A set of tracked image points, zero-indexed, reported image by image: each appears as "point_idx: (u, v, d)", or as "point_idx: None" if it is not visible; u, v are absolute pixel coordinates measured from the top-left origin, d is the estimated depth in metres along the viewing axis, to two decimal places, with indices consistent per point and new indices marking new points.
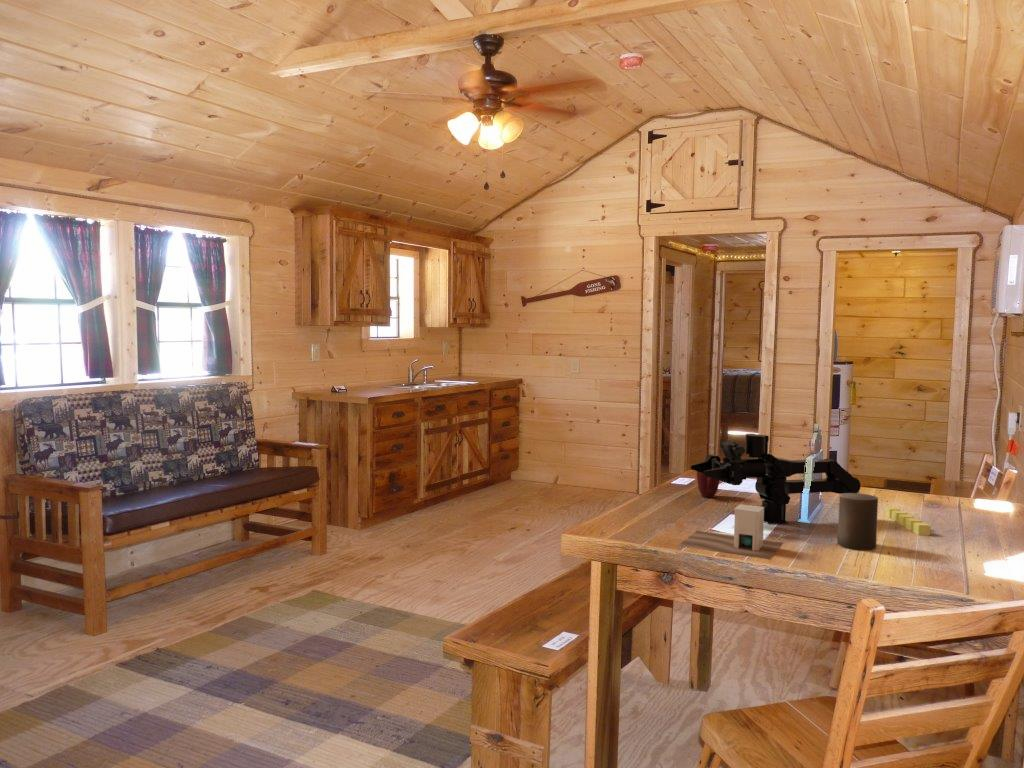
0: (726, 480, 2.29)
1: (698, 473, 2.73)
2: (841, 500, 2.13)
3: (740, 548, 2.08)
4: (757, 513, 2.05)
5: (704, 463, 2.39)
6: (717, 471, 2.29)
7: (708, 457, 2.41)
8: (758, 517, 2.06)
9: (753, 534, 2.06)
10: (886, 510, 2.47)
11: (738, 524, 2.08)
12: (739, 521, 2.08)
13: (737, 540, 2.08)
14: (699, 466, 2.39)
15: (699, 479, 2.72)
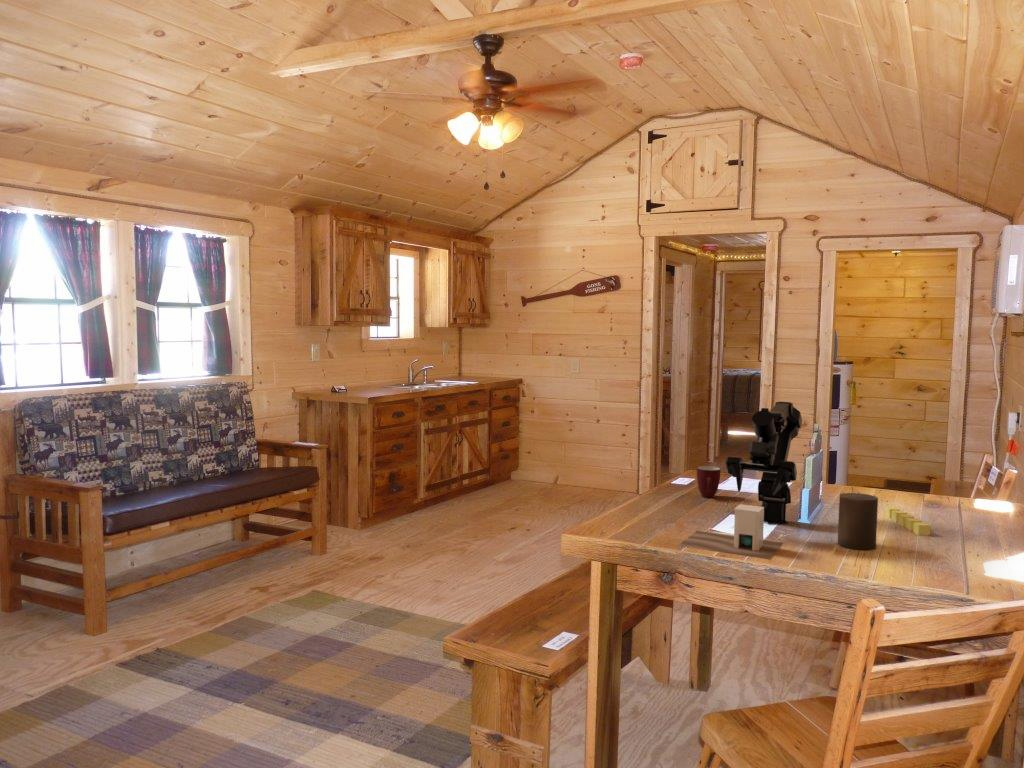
0: (784, 481, 2.18)
1: (698, 473, 2.73)
2: (841, 500, 2.13)
3: (740, 548, 2.08)
4: (757, 513, 2.05)
5: (740, 475, 2.21)
6: (779, 483, 2.15)
7: (736, 466, 2.21)
8: (758, 517, 2.06)
9: (753, 534, 2.06)
10: (886, 510, 2.47)
11: (738, 524, 2.08)
12: (739, 521, 2.08)
13: (737, 540, 2.08)
14: (740, 482, 2.20)
15: (699, 479, 2.72)
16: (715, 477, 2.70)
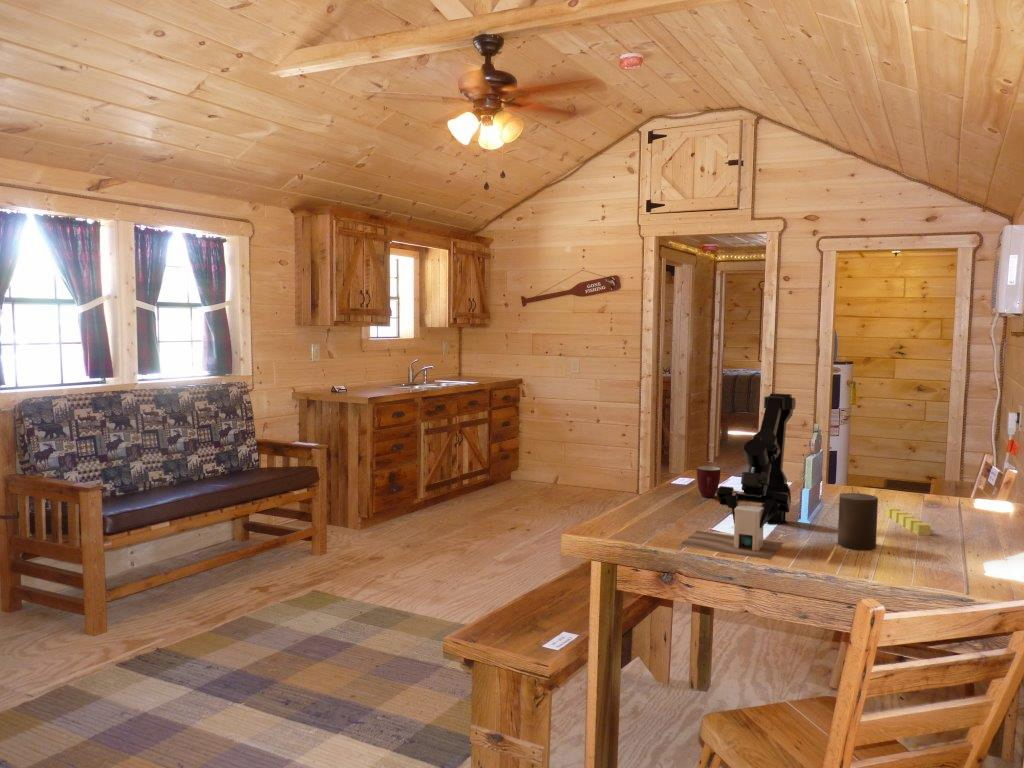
0: (773, 512, 2.11)
1: (698, 473, 2.73)
2: (841, 500, 2.13)
3: (740, 548, 2.08)
4: (757, 513, 2.05)
5: None
6: (767, 514, 2.08)
7: (732, 497, 2.13)
8: (758, 517, 2.06)
9: (753, 534, 2.06)
10: (886, 510, 2.47)
11: (738, 524, 2.08)
12: (739, 521, 2.08)
13: (737, 540, 2.08)
14: None
15: (699, 479, 2.72)
16: (715, 477, 2.70)
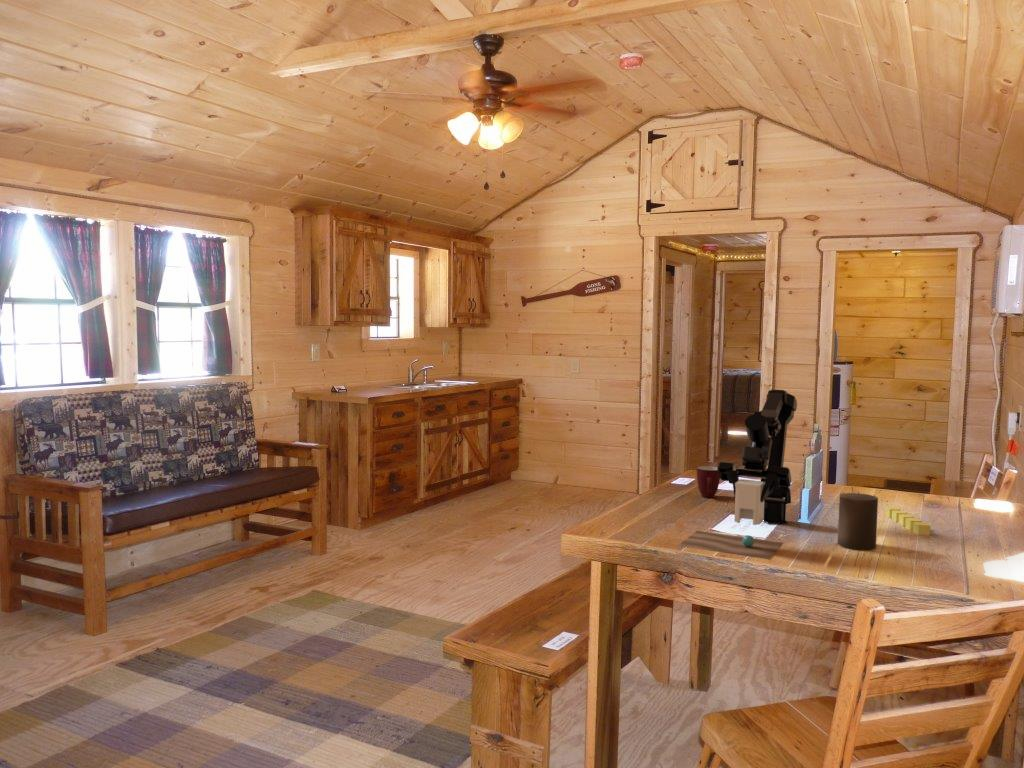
0: (774, 487, 2.10)
1: (698, 473, 2.73)
2: (841, 500, 2.13)
3: (740, 548, 2.08)
4: (758, 487, 2.05)
5: None
6: (768, 489, 2.08)
7: (732, 472, 2.12)
8: (759, 491, 2.06)
9: (754, 508, 2.06)
10: (886, 510, 2.47)
11: (738, 498, 2.07)
12: (740, 495, 2.07)
13: (738, 514, 2.08)
14: None
15: (699, 479, 2.72)
16: (715, 477, 2.70)
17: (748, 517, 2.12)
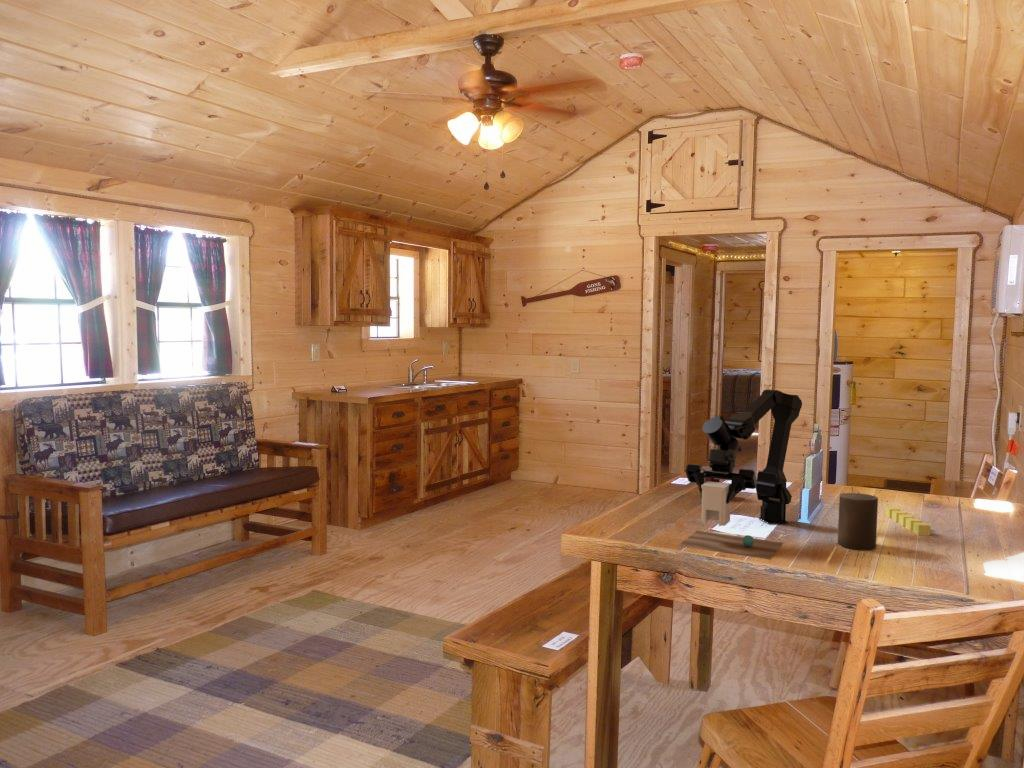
0: (740, 489, 2.15)
1: None
2: (841, 500, 2.13)
3: (740, 548, 2.08)
4: (723, 489, 2.09)
5: None
6: (733, 491, 2.12)
7: (699, 474, 2.17)
8: (724, 493, 2.10)
9: (719, 510, 2.10)
10: (886, 510, 2.47)
11: (705, 500, 2.12)
12: (706, 497, 2.12)
13: (704, 516, 2.12)
14: None
15: None
16: None
17: (715, 518, 2.17)
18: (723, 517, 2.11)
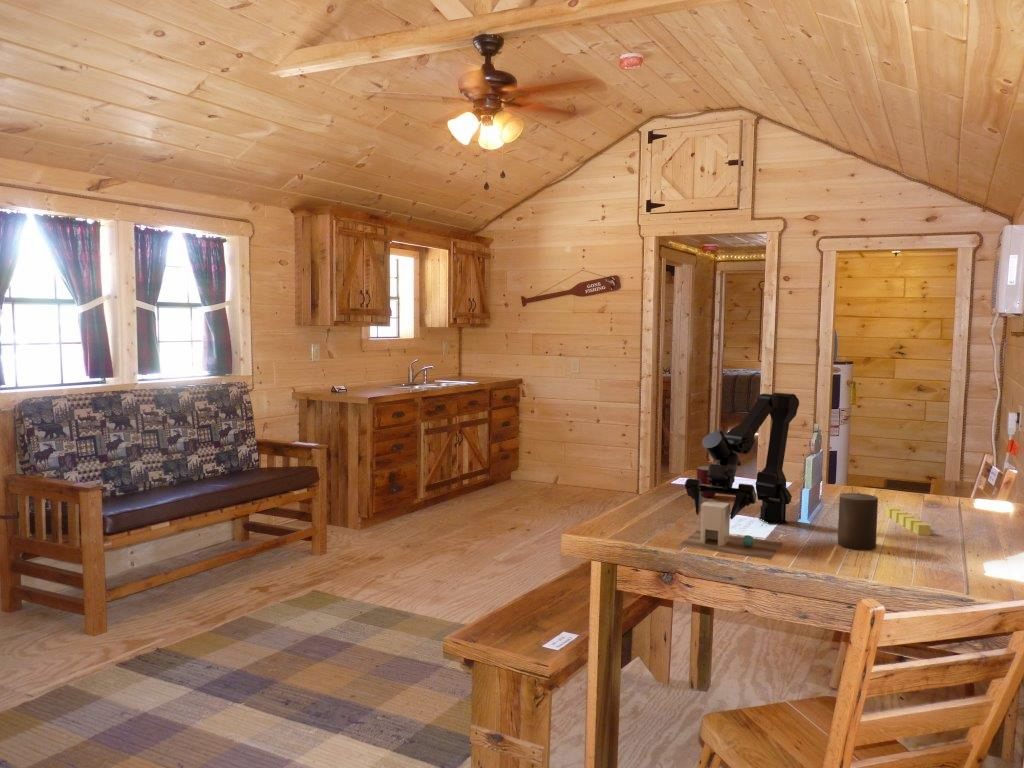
0: (744, 504, 2.14)
1: (698, 473, 2.73)
2: (841, 500, 2.13)
3: (740, 548, 2.08)
4: (722, 509, 2.10)
5: (699, 498, 2.17)
6: (737, 506, 2.12)
7: (695, 489, 2.18)
8: (723, 513, 2.10)
9: (719, 529, 2.10)
10: (886, 510, 2.47)
11: (704, 519, 2.12)
12: (705, 517, 2.12)
13: (703, 535, 2.13)
14: (698, 505, 2.17)
15: None
16: None
17: (714, 538, 2.17)
18: (722, 537, 2.11)
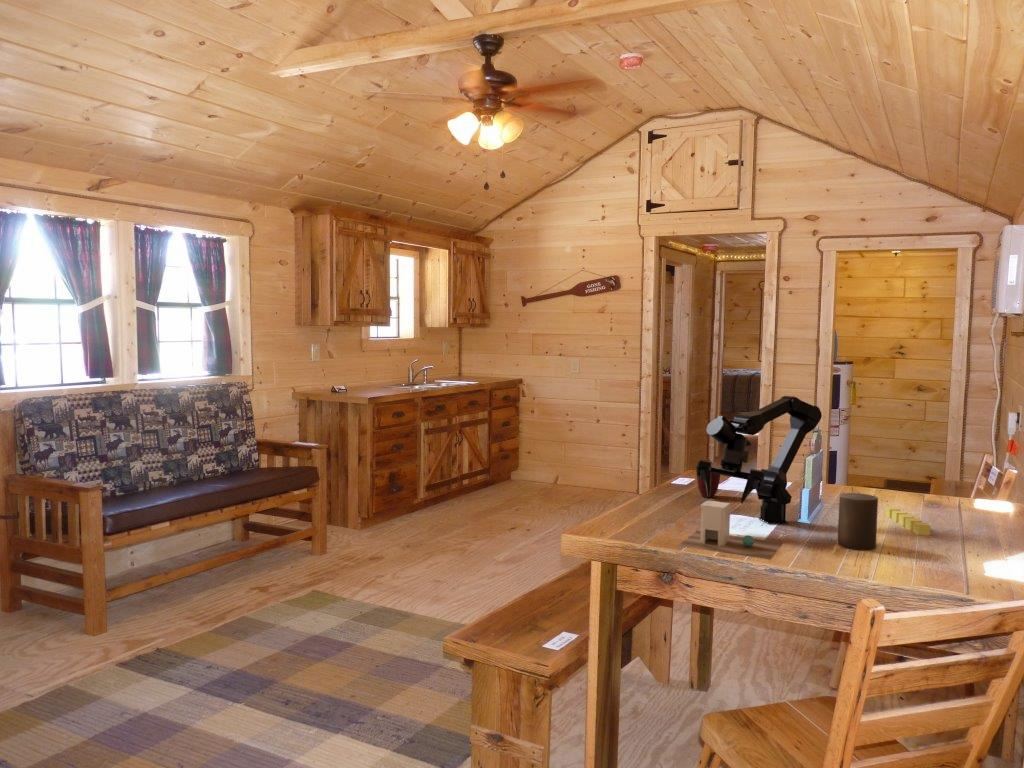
0: (752, 488, 2.24)
1: None
2: (841, 500, 2.13)
3: (740, 548, 2.08)
4: (722, 509, 2.10)
5: None
6: (748, 491, 2.21)
7: (707, 471, 2.24)
8: (723, 513, 2.10)
9: (719, 529, 2.10)
10: (886, 510, 2.47)
11: (704, 519, 2.12)
12: (705, 517, 2.12)
13: (703, 535, 2.13)
14: (709, 487, 2.24)
15: (699, 479, 2.72)
16: (715, 477, 2.70)
17: (714, 538, 2.17)
18: (722, 537, 2.11)
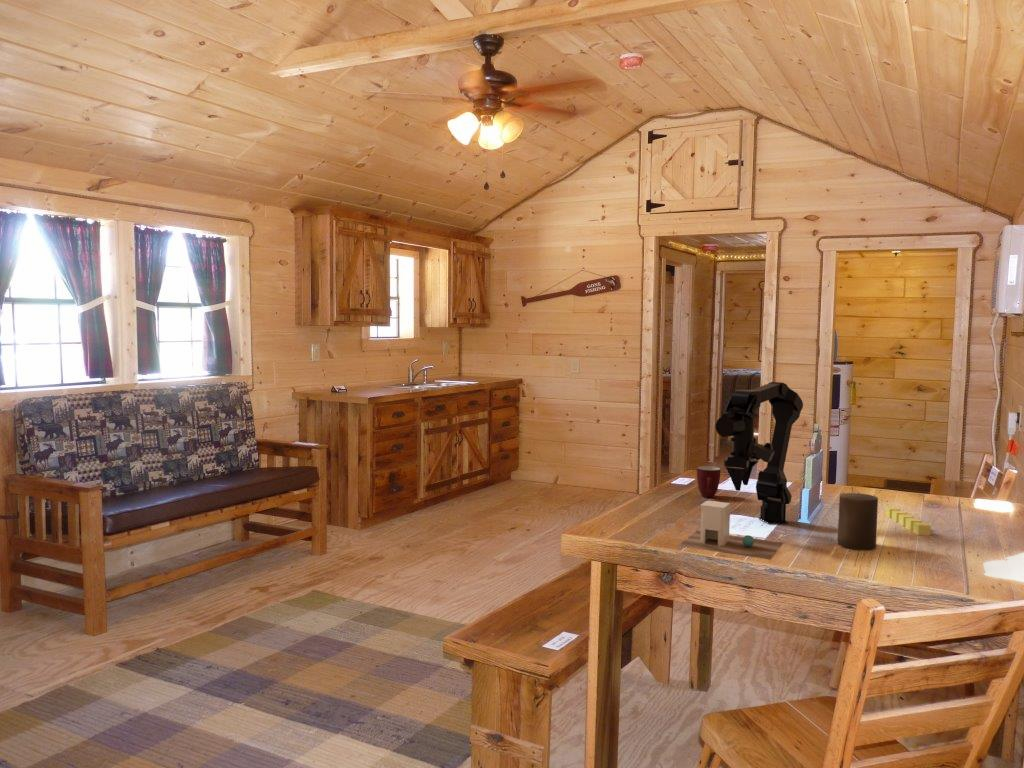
0: None
1: (698, 473, 2.73)
2: (841, 500, 2.13)
3: (740, 548, 2.08)
4: (722, 509, 2.10)
5: None
6: None
7: (746, 469, 2.19)
8: (723, 513, 2.10)
9: (719, 529, 2.10)
10: (886, 510, 2.47)
11: (704, 519, 2.12)
12: (705, 517, 2.12)
13: (703, 535, 2.13)
14: None
15: (699, 479, 2.72)
16: (715, 477, 2.70)
17: (714, 538, 2.17)
18: (722, 537, 2.11)
